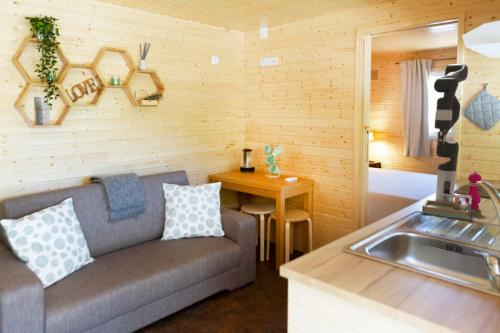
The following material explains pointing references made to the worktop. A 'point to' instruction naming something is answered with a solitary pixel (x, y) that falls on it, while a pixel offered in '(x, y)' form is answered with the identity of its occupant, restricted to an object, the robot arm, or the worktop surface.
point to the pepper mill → (474, 190)
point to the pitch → (445, 209)
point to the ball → (463, 207)
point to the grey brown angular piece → (457, 196)
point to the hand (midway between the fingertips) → (440, 151)
